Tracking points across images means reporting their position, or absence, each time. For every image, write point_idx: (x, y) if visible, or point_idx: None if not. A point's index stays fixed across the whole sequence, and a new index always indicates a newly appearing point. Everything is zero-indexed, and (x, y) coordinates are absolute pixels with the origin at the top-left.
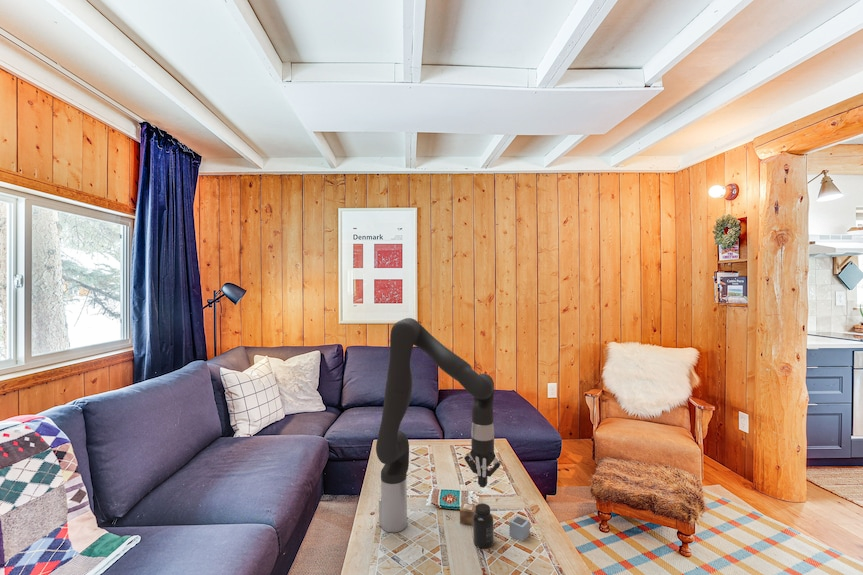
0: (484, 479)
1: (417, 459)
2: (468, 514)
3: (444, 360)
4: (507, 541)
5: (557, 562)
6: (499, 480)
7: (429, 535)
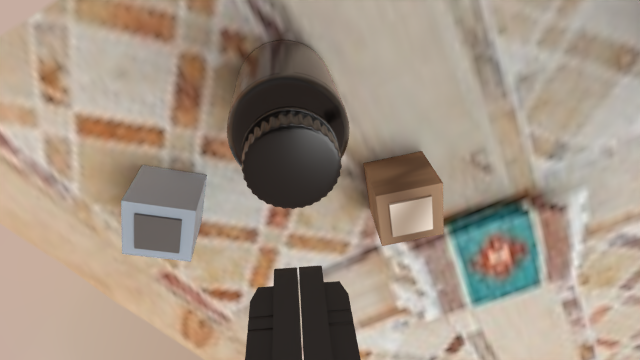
0: (267, 355)
1: None
2: (396, 183)
3: None
4: (196, 139)
5: None
6: None
7: (538, 9)
